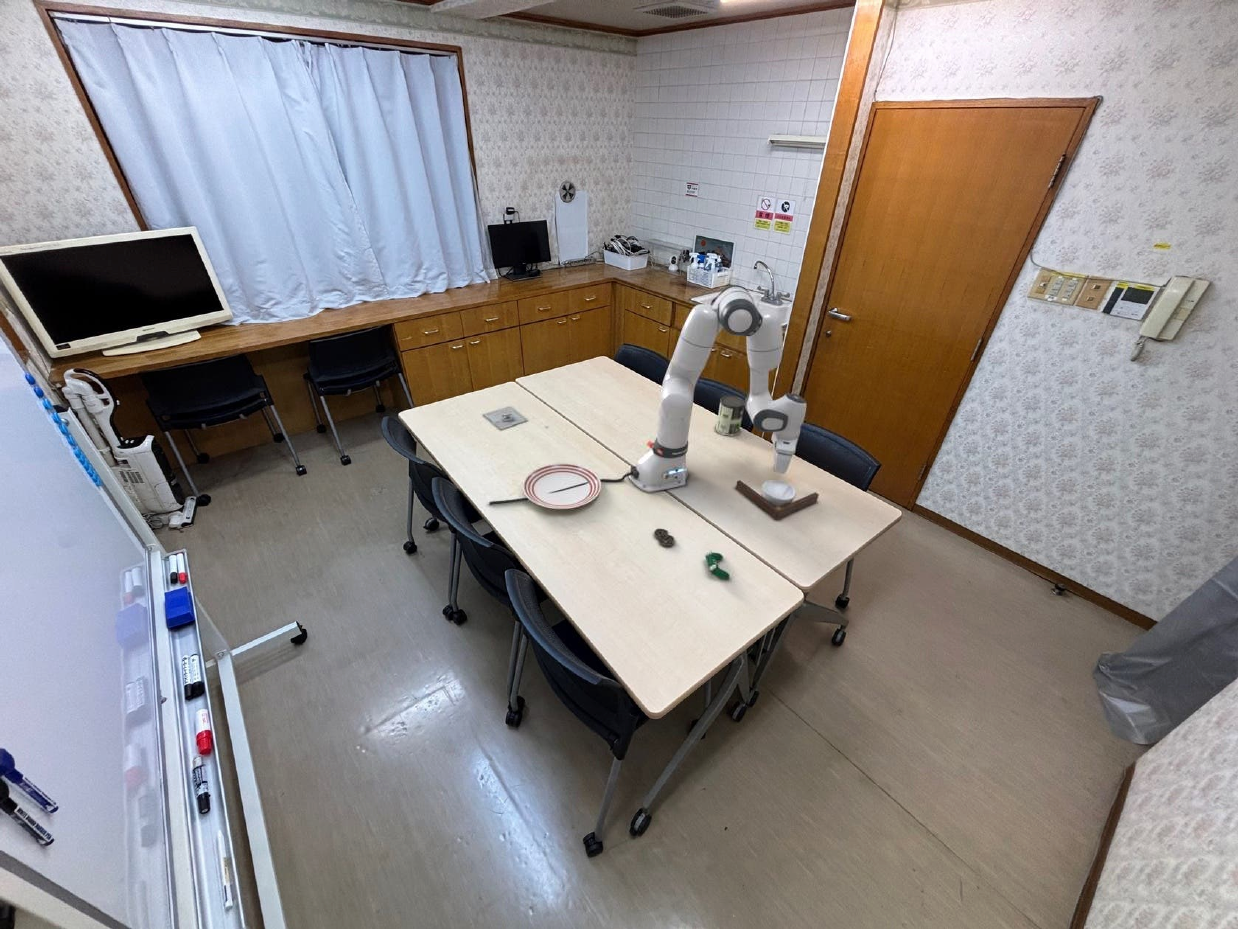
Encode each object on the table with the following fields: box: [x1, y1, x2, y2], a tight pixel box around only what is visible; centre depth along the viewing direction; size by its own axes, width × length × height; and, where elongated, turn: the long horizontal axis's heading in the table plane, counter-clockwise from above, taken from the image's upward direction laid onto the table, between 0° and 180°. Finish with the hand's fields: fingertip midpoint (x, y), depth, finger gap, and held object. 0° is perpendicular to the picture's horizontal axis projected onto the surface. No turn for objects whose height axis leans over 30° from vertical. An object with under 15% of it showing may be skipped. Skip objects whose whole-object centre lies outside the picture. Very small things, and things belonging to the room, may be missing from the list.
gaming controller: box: [704, 550, 730, 580], centre depth 147 cm, size 9×4×6 cm
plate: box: [521, 462, 602, 510], centre depth 175 cm, size 28×27×3 cm
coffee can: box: [715, 395, 745, 437], centre depth 212 cm, size 10×10×14 cm
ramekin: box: [761, 479, 797, 507], centre depth 174 cm, size 11×11×5 cm
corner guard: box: [735, 479, 820, 521], centre depth 177 cm, size 20×20×4 cm
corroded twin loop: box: [653, 528, 675, 547], centre depth 157 cm, size 5×8×1 cm, turn 29°
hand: (776, 469), depth 184 cm, fingers closed
